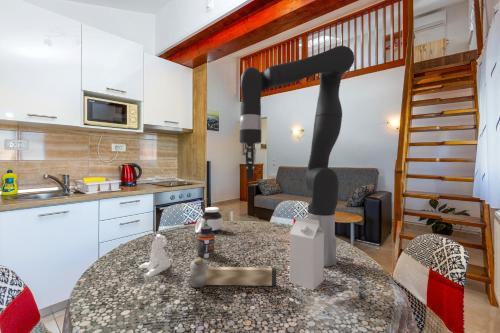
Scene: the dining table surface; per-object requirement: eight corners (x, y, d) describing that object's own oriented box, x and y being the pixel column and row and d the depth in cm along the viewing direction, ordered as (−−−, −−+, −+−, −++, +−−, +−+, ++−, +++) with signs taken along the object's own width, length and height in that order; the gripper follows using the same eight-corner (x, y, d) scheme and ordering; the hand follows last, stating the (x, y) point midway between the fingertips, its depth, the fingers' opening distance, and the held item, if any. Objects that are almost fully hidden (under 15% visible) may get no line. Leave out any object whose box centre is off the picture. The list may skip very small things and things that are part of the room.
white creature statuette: (137, 270, 76) (137, 233, 76) (164, 263, 81) (164, 228, 81) (146, 282, 68) (146, 241, 68) (175, 273, 74) (175, 235, 74)
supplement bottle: (210, 262, 83) (211, 230, 82) (194, 260, 84) (195, 228, 84) (216, 255, 88) (216, 225, 88) (201, 254, 90) (201, 224, 90)
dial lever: (188, 287, 63) (188, 263, 63) (192, 279, 67) (192, 256, 67) (276, 288, 63) (277, 264, 62) (275, 280, 67) (275, 257, 67)
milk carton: (300, 277, 72) (301, 215, 72) (323, 284, 68) (324, 218, 68) (289, 286, 67) (289, 219, 67) (312, 295, 62) (313, 223, 62)
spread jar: (224, 230, 121) (224, 208, 121) (209, 236, 111) (209, 211, 111) (206, 227, 127) (206, 205, 127) (191, 232, 118) (191, 209, 118)
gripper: (261, 126, 75) (260, 181, 75) (261, 131, 88) (261, 178, 88) (237, 126, 75) (237, 181, 75) (241, 131, 88) (241, 178, 89)
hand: (250, 179), depth 82 cm, fingers closed
